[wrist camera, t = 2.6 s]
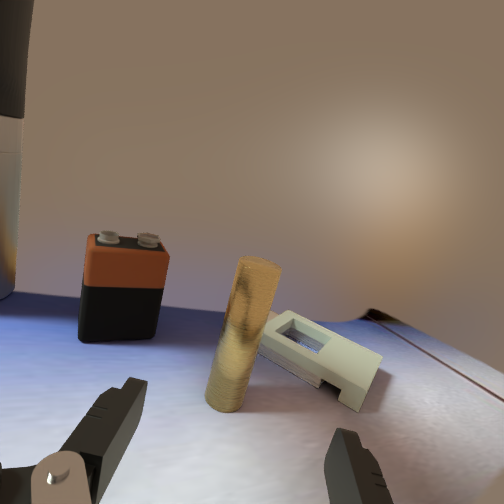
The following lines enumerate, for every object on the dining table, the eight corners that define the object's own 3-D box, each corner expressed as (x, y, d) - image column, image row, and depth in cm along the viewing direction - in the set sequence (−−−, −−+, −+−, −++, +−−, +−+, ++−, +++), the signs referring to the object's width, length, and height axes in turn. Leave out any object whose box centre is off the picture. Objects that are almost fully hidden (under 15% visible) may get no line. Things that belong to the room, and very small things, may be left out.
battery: (155, 340, 31) (173, 245, 29) (77, 344, 28) (89, 237, 25) (147, 317, 35) (163, 231, 32) (77, 318, 32) (88, 222, 29)
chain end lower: (341, 356, 37) (344, 348, 37) (317, 388, 31) (321, 378, 30) (257, 312, 43) (259, 304, 43) (221, 331, 36) (224, 321, 36)
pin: (196, 396, 26) (230, 258, 23) (220, 378, 28) (254, 254, 25) (227, 419, 24) (268, 276, 21) (249, 398, 27) (288, 269, 24)
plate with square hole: (250, 348, 34) (255, 328, 34) (282, 326, 41) (288, 309, 40) (358, 412, 29) (367, 391, 28) (375, 374, 35) (383, 356, 35)
